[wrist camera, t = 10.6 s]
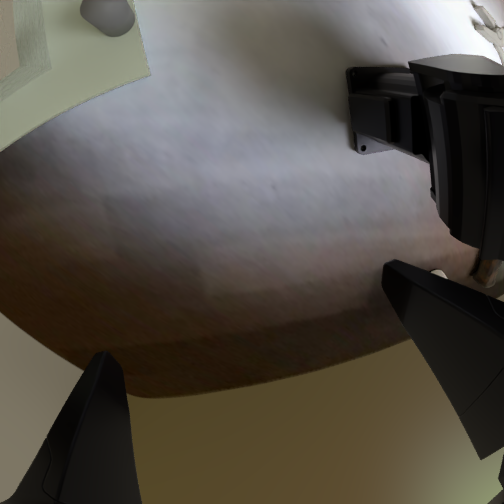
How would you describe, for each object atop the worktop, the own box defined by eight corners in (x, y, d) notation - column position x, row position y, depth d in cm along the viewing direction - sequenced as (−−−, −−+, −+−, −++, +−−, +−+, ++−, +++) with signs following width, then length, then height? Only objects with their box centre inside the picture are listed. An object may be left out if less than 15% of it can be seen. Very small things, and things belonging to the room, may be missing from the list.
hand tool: (481, 270, 34) (499, 287, 30) (468, 277, 33) (487, 294, 30) (511, 156, 24) (536, 169, 20) (500, 155, 23) (528, 169, 19)
